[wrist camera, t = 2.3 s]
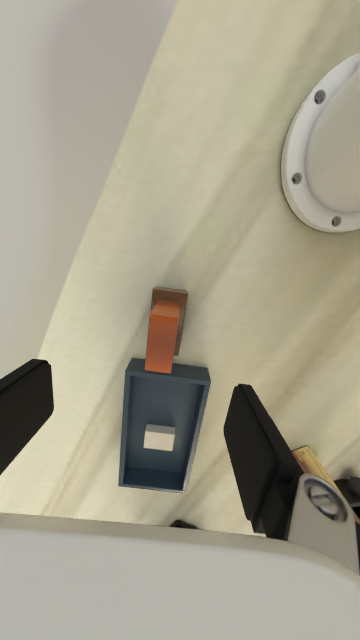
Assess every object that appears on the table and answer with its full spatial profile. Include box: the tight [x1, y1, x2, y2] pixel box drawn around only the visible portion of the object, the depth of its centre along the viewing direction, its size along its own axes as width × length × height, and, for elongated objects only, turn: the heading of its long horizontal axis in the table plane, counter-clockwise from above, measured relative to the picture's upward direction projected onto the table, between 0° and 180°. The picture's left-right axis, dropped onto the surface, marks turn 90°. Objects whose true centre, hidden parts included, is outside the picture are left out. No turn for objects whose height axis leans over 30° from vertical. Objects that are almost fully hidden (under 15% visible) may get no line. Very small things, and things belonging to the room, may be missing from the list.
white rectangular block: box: [144, 424, 175, 451], centre depth 25 cm, size 3×4×1 cm
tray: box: [118, 358, 211, 493], centre depth 25 cm, size 19×10×3 cm, turn 172°
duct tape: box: [334, 477, 360, 520], centre depth 29 cm, size 8×10×3 cm
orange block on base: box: [145, 287, 188, 373], centre depth 18 cm, size 7×4×7 cm, turn 172°
